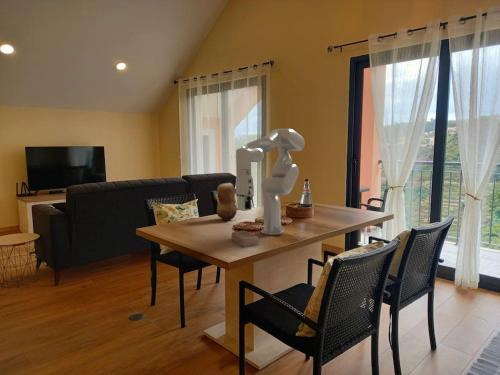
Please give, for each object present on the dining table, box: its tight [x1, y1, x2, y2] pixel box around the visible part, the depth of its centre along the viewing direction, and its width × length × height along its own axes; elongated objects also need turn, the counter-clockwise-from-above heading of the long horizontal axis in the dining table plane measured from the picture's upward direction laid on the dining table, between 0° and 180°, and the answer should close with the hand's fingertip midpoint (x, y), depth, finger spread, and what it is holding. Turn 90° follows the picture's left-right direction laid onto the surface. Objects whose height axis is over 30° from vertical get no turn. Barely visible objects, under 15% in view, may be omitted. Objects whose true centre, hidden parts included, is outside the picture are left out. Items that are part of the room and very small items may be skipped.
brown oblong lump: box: [216, 182, 238, 221], centre depth 250 cm, size 14×13×25 cm
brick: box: [231, 230, 260, 248], centre depth 194 cm, size 17×8×5 cm, turn 26°
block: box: [236, 195, 252, 212], centre depth 191 cm, size 5×5×7 cm
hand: (244, 207), depth 192 cm, fingers closed on block, 5 cm apart
